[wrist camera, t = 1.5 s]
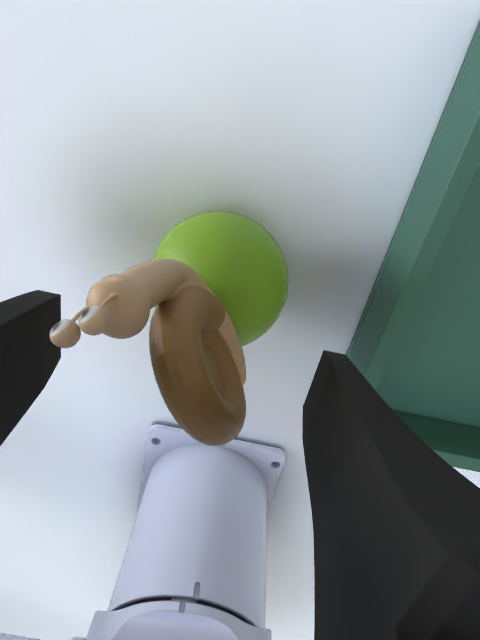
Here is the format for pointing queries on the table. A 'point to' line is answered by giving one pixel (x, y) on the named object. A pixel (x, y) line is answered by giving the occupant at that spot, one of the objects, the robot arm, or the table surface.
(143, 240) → the table surface
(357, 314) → the table surface
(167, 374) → the googly-eyed toy snail
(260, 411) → the table surface
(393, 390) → the tray
